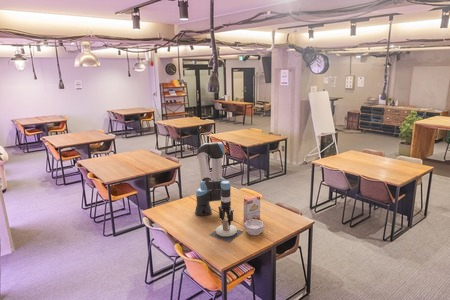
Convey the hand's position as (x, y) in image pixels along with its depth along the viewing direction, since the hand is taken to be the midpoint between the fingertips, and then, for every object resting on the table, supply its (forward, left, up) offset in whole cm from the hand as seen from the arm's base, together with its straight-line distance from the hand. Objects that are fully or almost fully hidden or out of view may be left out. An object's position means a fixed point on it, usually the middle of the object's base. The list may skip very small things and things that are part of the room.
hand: (226, 227), depth 245 cm
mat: (0, 0, -5) cm, 5 cm away
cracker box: (+4, +32, -5) cm, 32 cm away
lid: (0, 0, -3) cm, 3 cm away
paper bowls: (+17, +14, -5) cm, 23 cm away
